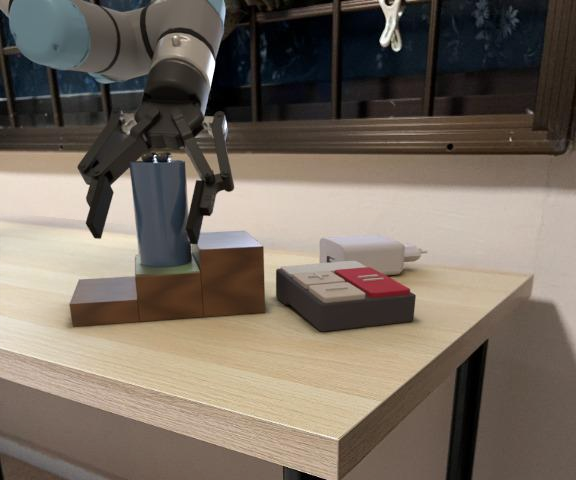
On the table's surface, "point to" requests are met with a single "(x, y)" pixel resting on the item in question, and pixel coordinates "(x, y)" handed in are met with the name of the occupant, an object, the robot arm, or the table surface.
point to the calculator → (344, 295)
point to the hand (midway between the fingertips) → (142, 234)
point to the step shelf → (180, 286)
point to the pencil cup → (161, 210)
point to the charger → (369, 252)
